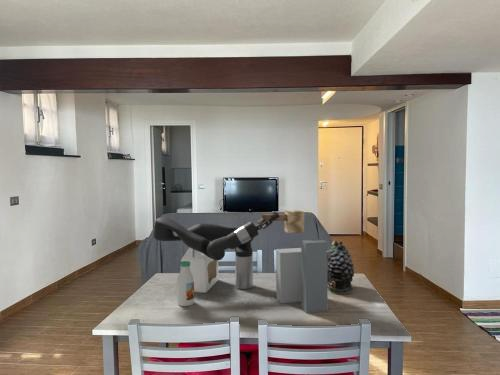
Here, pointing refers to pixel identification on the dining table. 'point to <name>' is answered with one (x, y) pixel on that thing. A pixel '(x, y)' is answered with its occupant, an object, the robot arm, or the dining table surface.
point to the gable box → (202, 270)
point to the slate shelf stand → (303, 275)
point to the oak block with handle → (290, 220)
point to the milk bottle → (185, 285)
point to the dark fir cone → (339, 269)
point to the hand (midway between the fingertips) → (277, 214)
